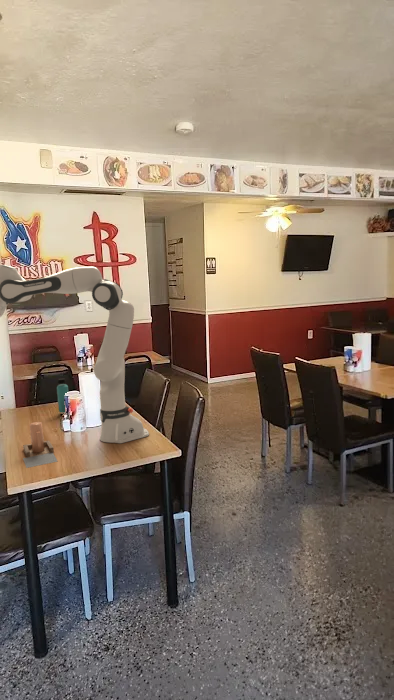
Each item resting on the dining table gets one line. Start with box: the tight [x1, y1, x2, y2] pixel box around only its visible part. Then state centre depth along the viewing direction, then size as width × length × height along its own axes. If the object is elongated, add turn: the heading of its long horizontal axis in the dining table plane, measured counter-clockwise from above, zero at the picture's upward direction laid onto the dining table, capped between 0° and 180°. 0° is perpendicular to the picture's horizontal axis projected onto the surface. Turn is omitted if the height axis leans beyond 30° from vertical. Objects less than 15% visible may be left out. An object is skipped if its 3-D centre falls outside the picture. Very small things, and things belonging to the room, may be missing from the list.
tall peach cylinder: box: [29, 421, 45, 453], centre depth 198 cm, size 5×8×12 cm, turn 27°
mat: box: [22, 452, 58, 469], centre depth 189 cm, size 12×12×1 cm
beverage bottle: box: [56, 378, 70, 413], centre depth 259 cm, size 6×7×20 cm
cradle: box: [22, 440, 55, 458], centre depth 200 cm, size 11×11×2 cm
